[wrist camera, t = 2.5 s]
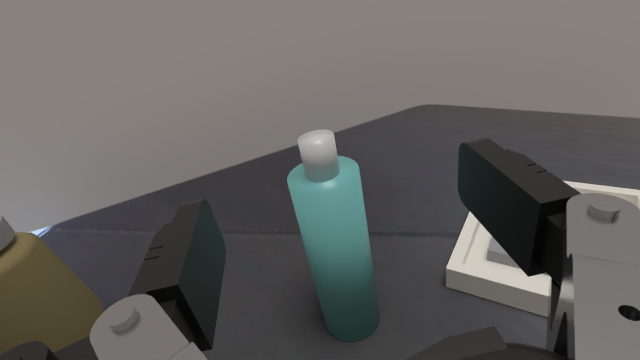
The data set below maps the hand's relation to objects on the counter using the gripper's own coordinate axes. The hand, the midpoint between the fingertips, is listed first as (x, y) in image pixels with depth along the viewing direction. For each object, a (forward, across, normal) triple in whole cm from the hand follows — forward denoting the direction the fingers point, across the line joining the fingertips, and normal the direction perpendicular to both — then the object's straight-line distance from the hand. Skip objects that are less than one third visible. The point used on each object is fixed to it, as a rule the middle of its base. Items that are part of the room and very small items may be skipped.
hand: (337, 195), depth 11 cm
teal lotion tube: (+10, 0, +19) cm, 21 cm away
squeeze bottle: (+12, +24, +19) cm, 33 cm away
